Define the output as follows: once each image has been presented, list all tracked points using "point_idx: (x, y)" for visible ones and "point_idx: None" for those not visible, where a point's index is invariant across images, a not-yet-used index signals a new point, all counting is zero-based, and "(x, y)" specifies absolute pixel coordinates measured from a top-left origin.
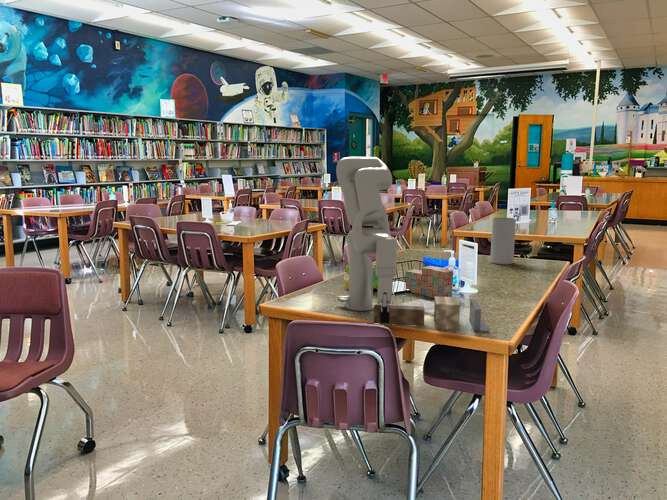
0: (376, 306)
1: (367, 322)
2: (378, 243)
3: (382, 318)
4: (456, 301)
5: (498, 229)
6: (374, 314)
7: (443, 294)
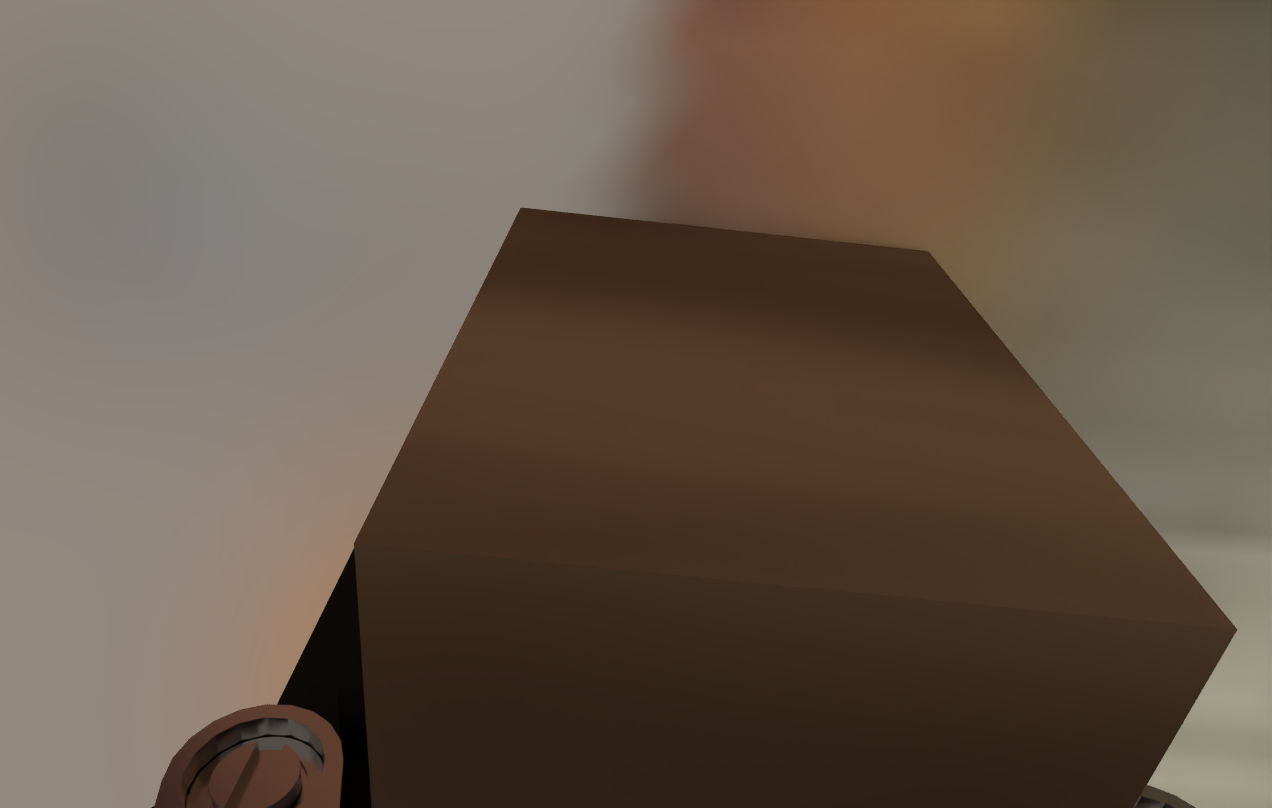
0: (732, 705)
1: (712, 6)
2: None
3: (347, 572)
4: None
5: None
6: (450, 378)
7: None
